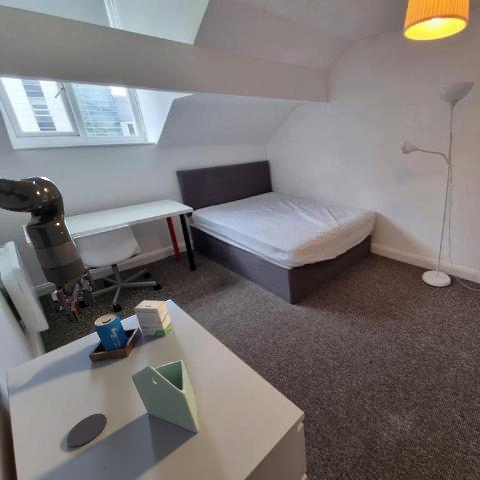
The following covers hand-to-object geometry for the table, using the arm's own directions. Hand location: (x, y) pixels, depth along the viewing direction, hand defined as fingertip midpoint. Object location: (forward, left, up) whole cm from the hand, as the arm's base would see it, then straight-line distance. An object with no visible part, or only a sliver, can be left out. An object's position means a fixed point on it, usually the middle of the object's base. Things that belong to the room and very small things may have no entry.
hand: (83, 312), depth 73 cm
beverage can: (-3, +10, -23) cm, 25 cm away
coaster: (+3, -18, -23) cm, 29 cm away
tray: (-3, +10, -23) cm, 25 cm away
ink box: (+8, +16, -23) cm, 29 cm away
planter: (+25, -17, -23) cm, 38 cm away
